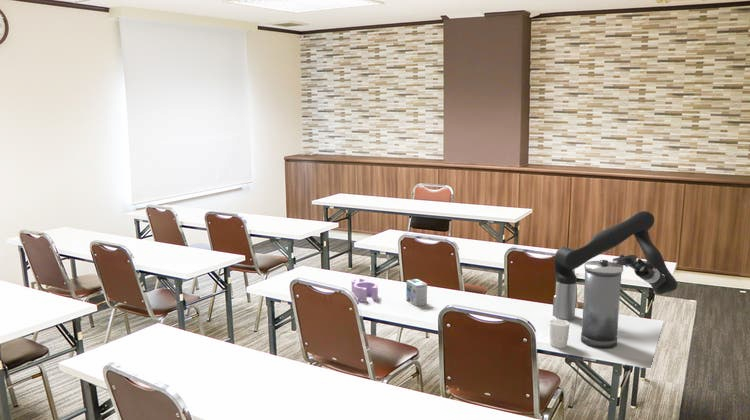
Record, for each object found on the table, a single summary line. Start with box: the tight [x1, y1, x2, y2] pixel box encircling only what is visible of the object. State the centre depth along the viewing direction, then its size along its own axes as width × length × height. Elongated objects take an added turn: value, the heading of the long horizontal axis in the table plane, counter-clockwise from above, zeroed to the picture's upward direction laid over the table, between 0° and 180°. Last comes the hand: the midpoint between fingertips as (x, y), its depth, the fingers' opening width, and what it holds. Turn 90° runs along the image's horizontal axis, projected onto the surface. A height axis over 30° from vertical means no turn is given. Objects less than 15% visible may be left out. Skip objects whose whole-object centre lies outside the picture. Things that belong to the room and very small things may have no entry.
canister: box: [580, 268, 623, 350], centre depth 250 cm, size 14×14×32 cm
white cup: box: [549, 318, 570, 349], centre depth 249 cm, size 8×8×10 cm
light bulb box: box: [405, 278, 428, 306], centre depth 305 cm, size 11×7×11 cm, turn 25°
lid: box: [584, 254, 638, 274], centre depth 251 cm, size 15×28×4 cm, turn 123°
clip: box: [351, 278, 379, 303], centre depth 316 cm, size 20×12×7 cm, turn 23°
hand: (629, 258), depth 256 cm, fingers open, 8 cm apart
